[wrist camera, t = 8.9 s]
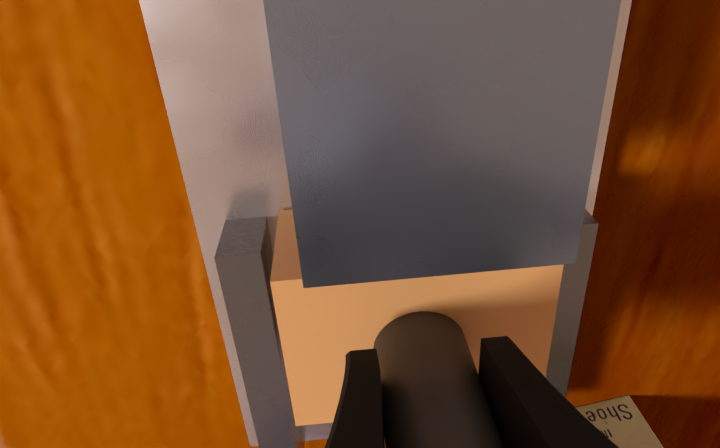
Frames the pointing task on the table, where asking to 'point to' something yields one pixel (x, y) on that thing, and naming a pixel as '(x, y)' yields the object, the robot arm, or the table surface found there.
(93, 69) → the table surface
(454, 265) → the housing
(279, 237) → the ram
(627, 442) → the shoe polish box
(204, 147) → the frame
